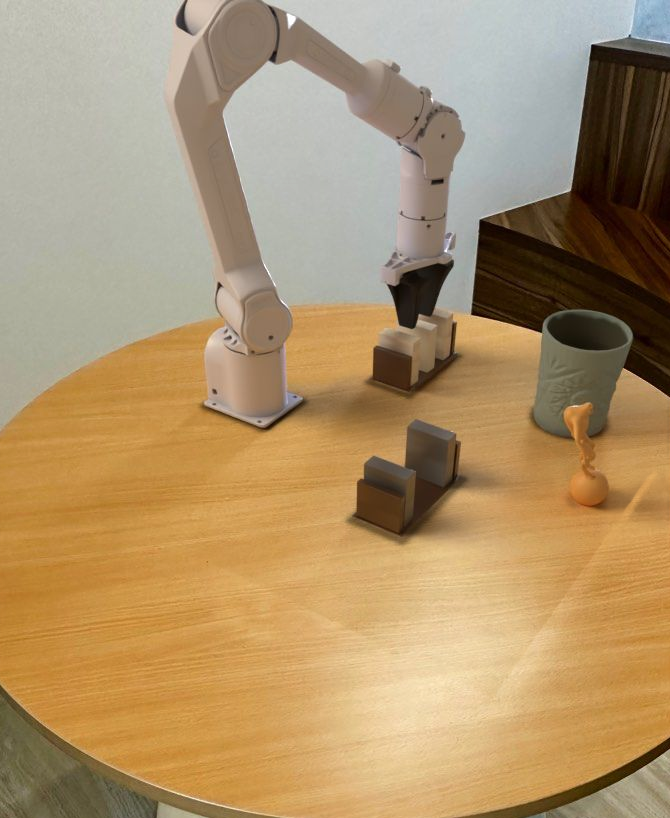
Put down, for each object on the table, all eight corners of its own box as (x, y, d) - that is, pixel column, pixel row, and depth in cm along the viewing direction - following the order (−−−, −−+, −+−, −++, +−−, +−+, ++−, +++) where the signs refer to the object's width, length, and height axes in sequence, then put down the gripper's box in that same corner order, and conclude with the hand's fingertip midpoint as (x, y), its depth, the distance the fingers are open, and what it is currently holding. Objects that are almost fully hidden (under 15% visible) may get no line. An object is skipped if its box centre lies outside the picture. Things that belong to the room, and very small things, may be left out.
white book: (394, 362, 116) (396, 320, 113) (401, 357, 118) (403, 315, 114) (427, 373, 114) (430, 330, 111) (434, 367, 116) (437, 325, 112)
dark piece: (368, 382, 113) (369, 335, 109) (418, 344, 122) (421, 299, 118) (408, 396, 111) (411, 348, 107) (457, 356, 119) (461, 310, 115)
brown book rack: (351, 520, 91) (352, 468, 87) (414, 462, 100) (417, 412, 96) (401, 541, 89) (404, 488, 85) (461, 480, 97) (466, 429, 93)
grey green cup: (558, 389, 113) (574, 301, 105) (628, 419, 107) (651, 329, 100) (511, 419, 107) (525, 328, 99) (582, 453, 102) (602, 359, 94)
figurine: (607, 528, 91) (631, 429, 84) (548, 521, 92) (567, 423, 84) (602, 481, 97) (625, 385, 90) (547, 476, 98) (565, 380, 90)
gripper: (421, 238, 97) (413, 350, 105) (481, 202, 106) (470, 308, 115) (367, 224, 100) (364, 334, 108) (430, 190, 109) (423, 294, 118)
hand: (415, 320), depth 112 cm, fingers open, 4 cm apart
